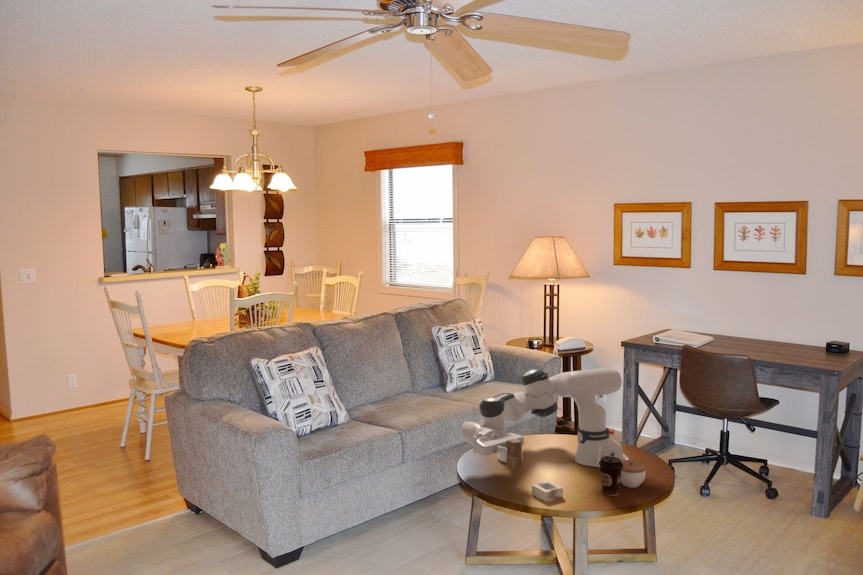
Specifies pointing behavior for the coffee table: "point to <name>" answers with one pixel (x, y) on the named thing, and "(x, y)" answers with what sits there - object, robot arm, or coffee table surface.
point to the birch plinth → (547, 491)
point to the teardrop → (504, 456)
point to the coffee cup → (610, 475)
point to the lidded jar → (632, 473)
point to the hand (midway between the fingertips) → (513, 449)
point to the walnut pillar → (514, 453)
